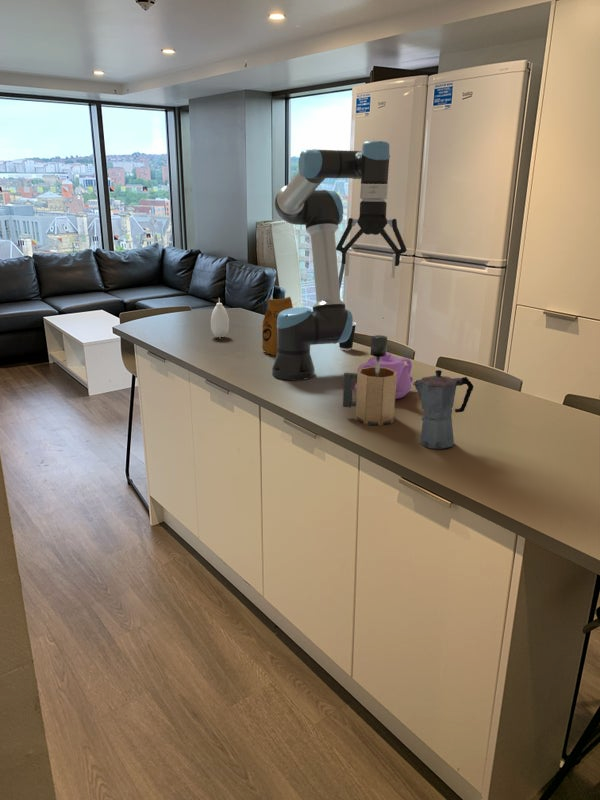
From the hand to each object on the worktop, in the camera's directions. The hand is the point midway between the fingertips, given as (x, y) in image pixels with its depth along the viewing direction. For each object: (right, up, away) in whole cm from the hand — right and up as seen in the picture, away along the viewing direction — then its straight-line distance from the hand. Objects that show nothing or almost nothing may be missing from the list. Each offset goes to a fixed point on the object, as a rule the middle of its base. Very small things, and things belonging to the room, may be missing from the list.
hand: (369, 276), depth 178 cm
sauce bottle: (-56, -9, +90) cm, 106 cm away
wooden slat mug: (-1, -42, -2) cm, 42 cm away
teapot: (+8, -35, +17) cm, 40 cm away
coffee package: (-29, -17, +68) cm, 76 cm away
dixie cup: (-2, -15, +73) cm, 75 cm away
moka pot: (+16, -48, -18) cm, 54 cm away
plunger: (+1, -36, -4) cm, 36 cm away
